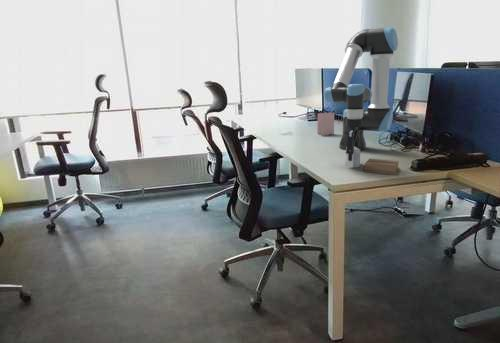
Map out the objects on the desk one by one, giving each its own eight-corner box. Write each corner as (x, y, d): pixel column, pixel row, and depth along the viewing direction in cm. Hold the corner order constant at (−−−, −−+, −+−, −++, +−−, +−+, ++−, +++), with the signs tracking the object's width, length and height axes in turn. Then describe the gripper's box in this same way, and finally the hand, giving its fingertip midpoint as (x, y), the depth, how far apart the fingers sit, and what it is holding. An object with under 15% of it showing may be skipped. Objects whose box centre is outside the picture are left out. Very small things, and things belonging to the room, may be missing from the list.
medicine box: (360, 167, 177) (361, 149, 175) (351, 168, 177) (351, 150, 174) (354, 163, 184) (355, 146, 182) (345, 163, 184) (346, 146, 182)
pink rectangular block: (333, 134, 264) (334, 112, 260) (335, 135, 257) (335, 114, 253) (317, 134, 265) (317, 113, 261) (318, 136, 258) (318, 114, 254)
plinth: (368, 166, 178) (368, 158, 177) (399, 169, 171) (399, 160, 170) (363, 171, 170) (363, 163, 169) (396, 174, 163) (396, 166, 162)
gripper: (352, 114, 185) (350, 159, 191) (340, 120, 167) (338, 169, 173) (367, 115, 182) (365, 160, 188) (357, 121, 163) (355, 171, 170)
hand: (352, 164), depth 180 cm, fingers closed on medicine box, 9 cm apart
